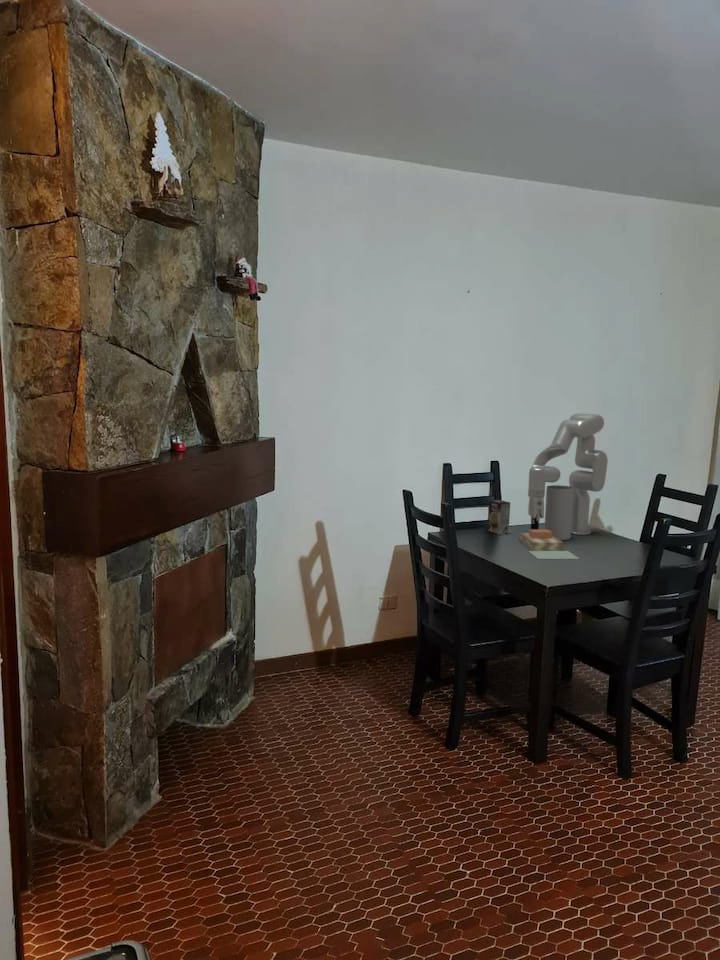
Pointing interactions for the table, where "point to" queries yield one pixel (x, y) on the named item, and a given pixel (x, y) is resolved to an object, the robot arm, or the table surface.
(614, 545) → the table surface
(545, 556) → the mat
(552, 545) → the board
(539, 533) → the thick terracotta block
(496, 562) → the table surface
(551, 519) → the cylinder vase
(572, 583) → the table surface
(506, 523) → the coffee box
